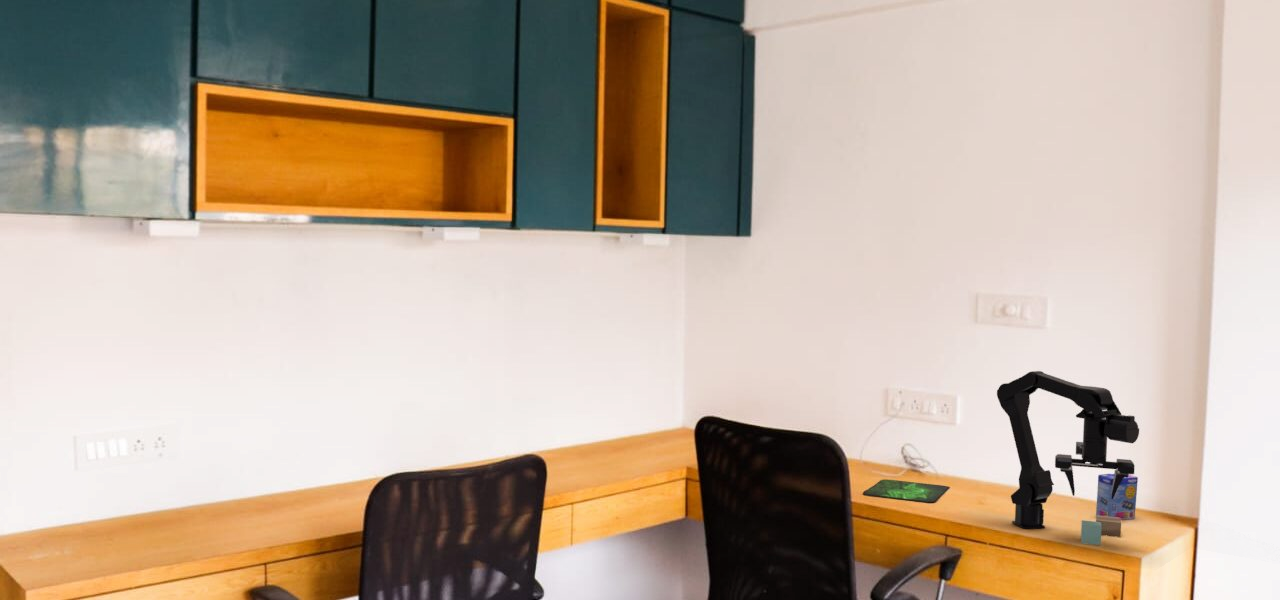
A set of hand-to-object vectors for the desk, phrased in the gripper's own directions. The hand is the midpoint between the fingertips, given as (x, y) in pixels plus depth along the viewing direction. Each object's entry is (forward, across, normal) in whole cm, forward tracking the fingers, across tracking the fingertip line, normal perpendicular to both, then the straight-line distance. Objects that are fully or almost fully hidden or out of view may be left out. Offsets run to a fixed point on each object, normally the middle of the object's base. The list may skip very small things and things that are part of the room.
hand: (1092, 497), depth 283 cm
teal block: (+12, 0, 0) cm, 12 cm away
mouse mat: (+12, +51, -41) cm, 67 cm away
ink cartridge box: (+12, -8, -31) cm, 34 cm away
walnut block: (+12, -5, -12) cm, 17 cm away
